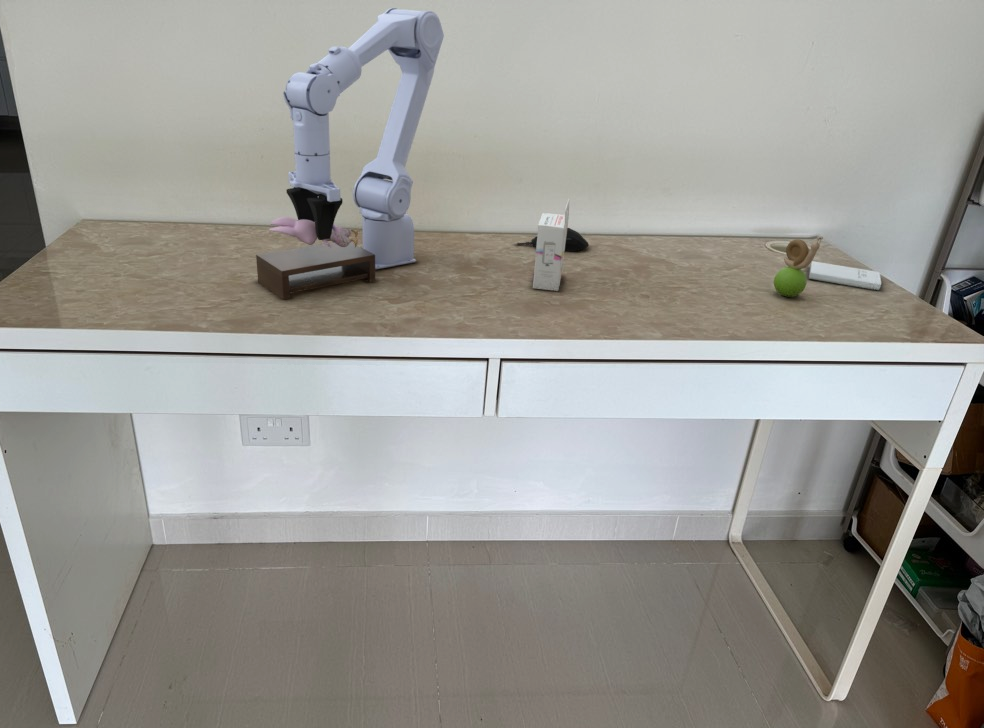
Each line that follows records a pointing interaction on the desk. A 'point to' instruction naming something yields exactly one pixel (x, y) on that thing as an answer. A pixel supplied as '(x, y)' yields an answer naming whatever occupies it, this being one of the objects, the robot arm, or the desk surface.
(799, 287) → the snail figurine
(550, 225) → the ink cartridge box
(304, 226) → the rabbit figure
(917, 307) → the desk surface
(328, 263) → the rack
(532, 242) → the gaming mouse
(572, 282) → the desk surface
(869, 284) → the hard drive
